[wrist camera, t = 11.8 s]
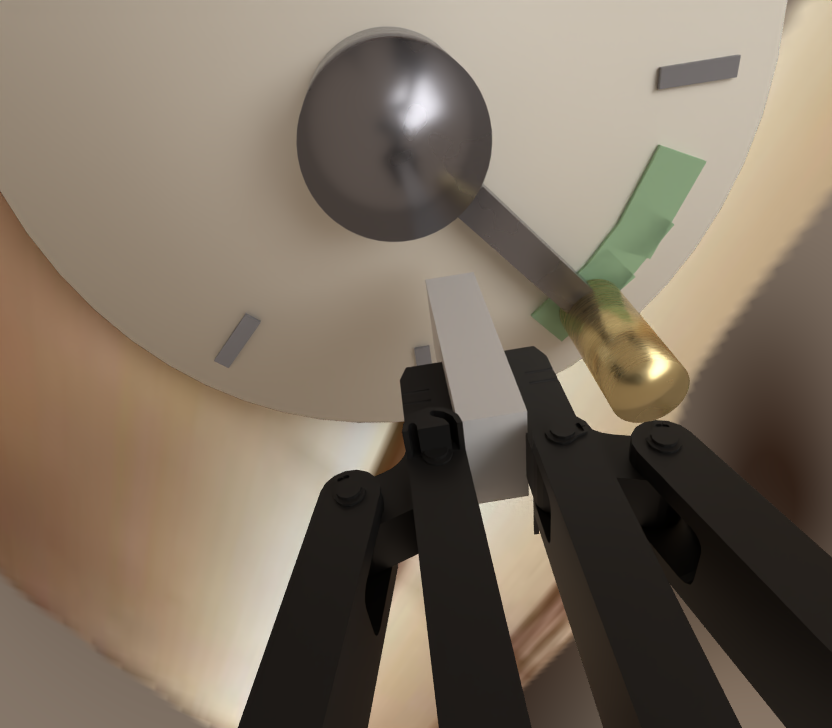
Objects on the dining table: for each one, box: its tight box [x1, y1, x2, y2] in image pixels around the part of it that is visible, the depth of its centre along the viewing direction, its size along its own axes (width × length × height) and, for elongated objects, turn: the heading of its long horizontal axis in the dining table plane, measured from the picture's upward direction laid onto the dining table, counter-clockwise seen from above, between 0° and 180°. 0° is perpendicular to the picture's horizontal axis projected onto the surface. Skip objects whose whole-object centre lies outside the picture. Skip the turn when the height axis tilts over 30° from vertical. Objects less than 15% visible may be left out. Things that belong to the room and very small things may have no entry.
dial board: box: [0, 0, 787, 423], centre depth 18 cm, size 24×24×1 cm
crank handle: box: [296, 27, 690, 423], centre depth 17 cm, size 14×5×5 cm, turn 48°
